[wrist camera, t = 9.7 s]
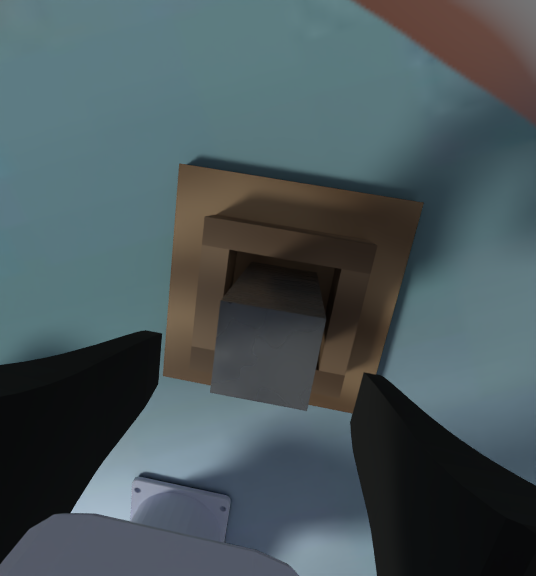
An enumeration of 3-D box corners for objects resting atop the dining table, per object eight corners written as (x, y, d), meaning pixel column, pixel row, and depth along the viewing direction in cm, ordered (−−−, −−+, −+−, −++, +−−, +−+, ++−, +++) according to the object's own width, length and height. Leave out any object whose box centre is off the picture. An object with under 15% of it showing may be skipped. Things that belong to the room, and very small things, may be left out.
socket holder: (361, 406, 23) (372, 442, 20) (168, 368, 24) (146, 396, 20) (417, 202, 19) (442, 203, 16) (185, 165, 20) (161, 158, 17)
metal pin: (305, 333, 21) (307, 411, 13) (243, 322, 21) (210, 392, 13) (316, 272, 20) (326, 318, 12) (251, 261, 20) (220, 300, 12)
